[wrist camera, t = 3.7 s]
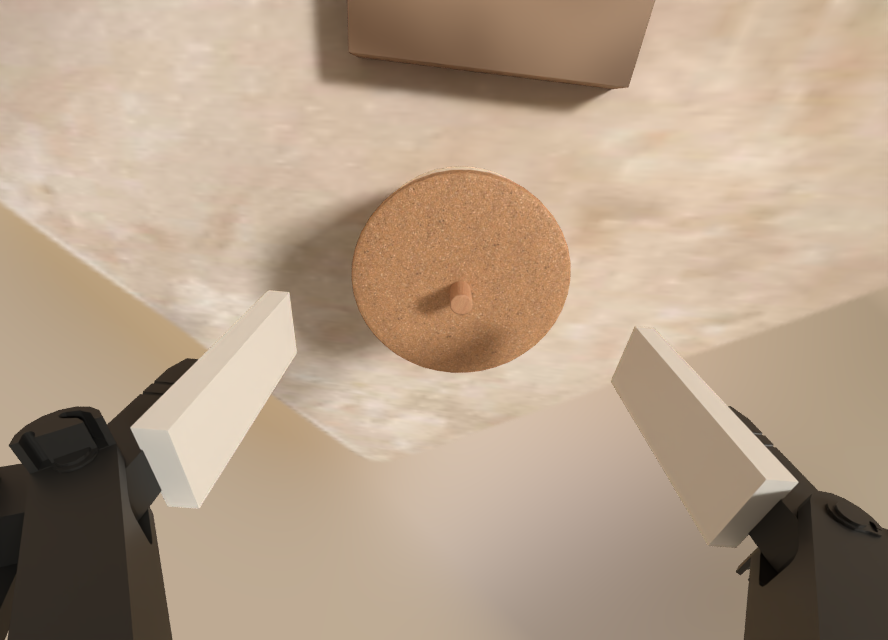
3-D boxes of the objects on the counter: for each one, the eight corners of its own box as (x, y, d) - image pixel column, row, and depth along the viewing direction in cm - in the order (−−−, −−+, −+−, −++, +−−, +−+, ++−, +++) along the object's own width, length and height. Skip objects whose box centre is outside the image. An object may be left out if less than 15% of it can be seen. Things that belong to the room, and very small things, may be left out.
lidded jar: (360, 278, 26) (319, 356, 18) (408, 121, 21) (381, 130, 13) (494, 326, 28) (512, 417, 20) (569, 193, 23) (635, 241, 15)
